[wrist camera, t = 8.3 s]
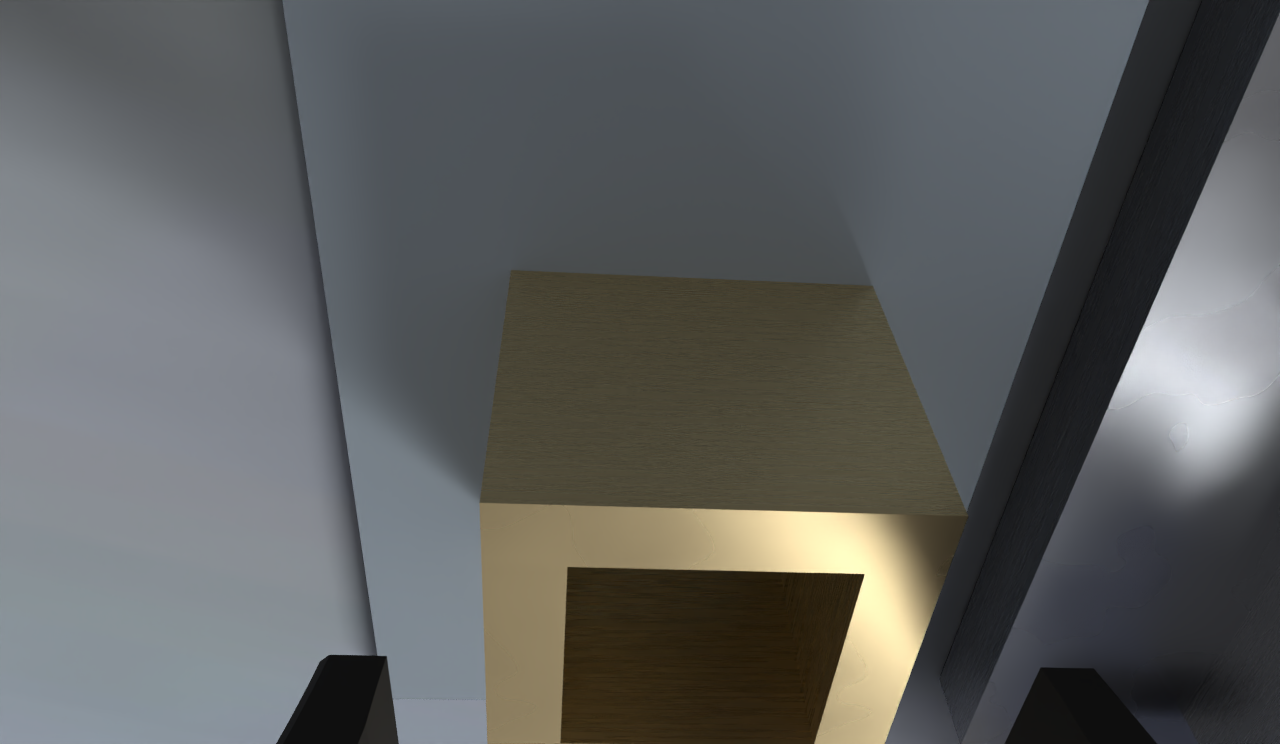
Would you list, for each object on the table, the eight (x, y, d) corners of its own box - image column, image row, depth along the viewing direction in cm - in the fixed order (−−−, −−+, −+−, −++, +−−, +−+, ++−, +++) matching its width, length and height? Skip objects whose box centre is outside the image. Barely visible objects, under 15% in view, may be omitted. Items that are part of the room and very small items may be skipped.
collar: (810, 538, 17) (868, 786, 13) (512, 531, 17) (489, 783, 13) (872, 285, 14) (968, 516, 10) (510, 270, 14) (479, 502, 10)
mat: (891, 678, 20) (898, 704, 20) (388, 672, 20) (383, 699, 19) (1139, -52, 12) (1162, -38, 11) (282, -103, 11) (269, -91, 11)
